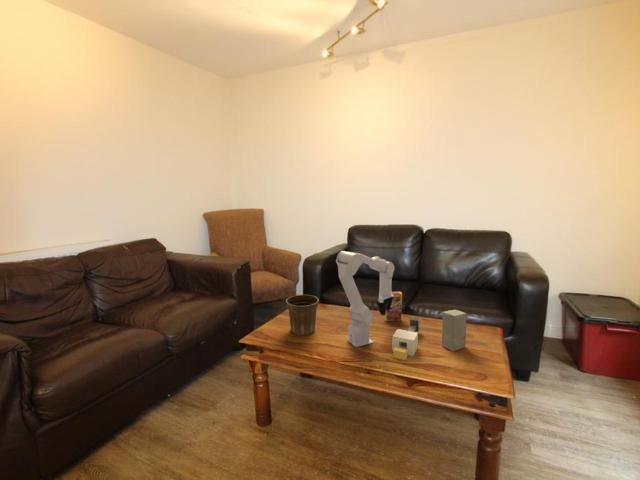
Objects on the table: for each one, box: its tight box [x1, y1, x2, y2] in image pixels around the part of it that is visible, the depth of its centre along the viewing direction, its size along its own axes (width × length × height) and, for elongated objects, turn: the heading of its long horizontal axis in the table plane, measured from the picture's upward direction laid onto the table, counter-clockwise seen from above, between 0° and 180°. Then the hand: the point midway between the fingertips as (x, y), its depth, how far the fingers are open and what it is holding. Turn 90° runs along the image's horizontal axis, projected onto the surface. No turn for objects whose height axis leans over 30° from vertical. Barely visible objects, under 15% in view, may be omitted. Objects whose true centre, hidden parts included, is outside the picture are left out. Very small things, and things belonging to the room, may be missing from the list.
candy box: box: [382, 291, 403, 322], centre depth 171 cm, size 9×4×15 cm, turn 98°
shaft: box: [402, 317, 421, 346], centre depth 147 cm, size 21×4×6 cm, turn 151°
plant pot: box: [285, 294, 320, 336], centre depth 159 cm, size 16×16×16 cm
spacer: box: [393, 347, 408, 361], centre depth 133 cm, size 4×5×3 cm
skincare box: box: [441, 309, 467, 352], centre depth 140 cm, size 8×7×16 cm
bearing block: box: [391, 328, 419, 357], centre depth 139 cm, size 8×9×7 cm
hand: (385, 312), depth 156 cm, fingers open, 7 cm apart
